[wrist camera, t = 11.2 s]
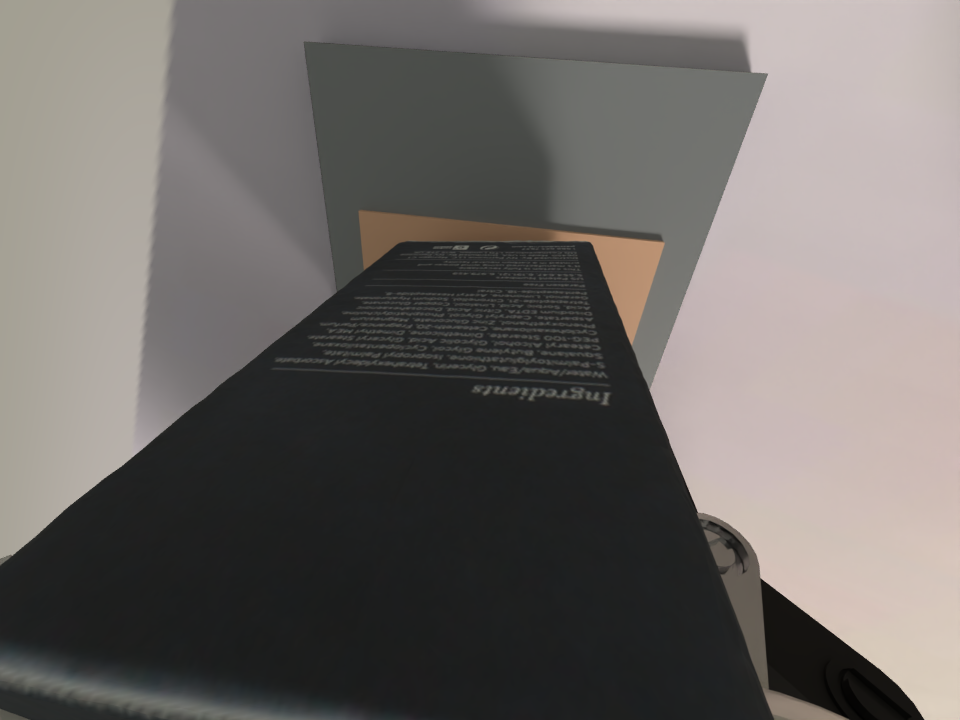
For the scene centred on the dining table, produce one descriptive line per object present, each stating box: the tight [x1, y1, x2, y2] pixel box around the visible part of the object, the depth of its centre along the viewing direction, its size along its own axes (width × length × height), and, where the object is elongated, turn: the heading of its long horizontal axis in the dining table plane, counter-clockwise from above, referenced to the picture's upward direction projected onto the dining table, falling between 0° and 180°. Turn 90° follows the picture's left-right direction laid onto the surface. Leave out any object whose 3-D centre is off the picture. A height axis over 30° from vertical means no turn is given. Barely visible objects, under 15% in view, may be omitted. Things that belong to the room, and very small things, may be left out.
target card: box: [304, 42, 768, 390], centre depth 14 cm, size 16×12×1 cm
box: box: [0, 240, 774, 720], centre depth 8 cm, size 8×6×11 cm
